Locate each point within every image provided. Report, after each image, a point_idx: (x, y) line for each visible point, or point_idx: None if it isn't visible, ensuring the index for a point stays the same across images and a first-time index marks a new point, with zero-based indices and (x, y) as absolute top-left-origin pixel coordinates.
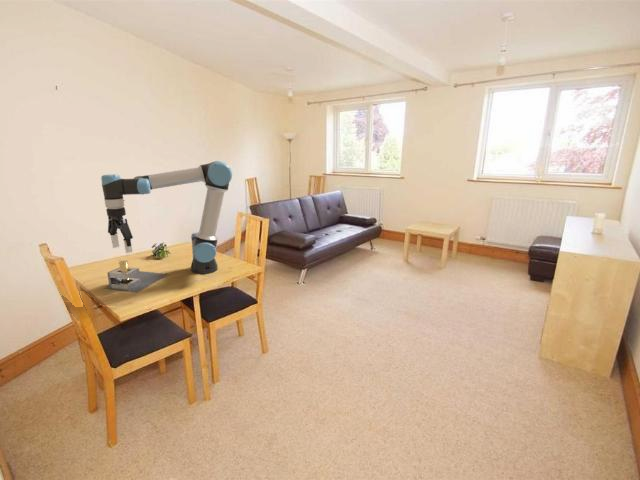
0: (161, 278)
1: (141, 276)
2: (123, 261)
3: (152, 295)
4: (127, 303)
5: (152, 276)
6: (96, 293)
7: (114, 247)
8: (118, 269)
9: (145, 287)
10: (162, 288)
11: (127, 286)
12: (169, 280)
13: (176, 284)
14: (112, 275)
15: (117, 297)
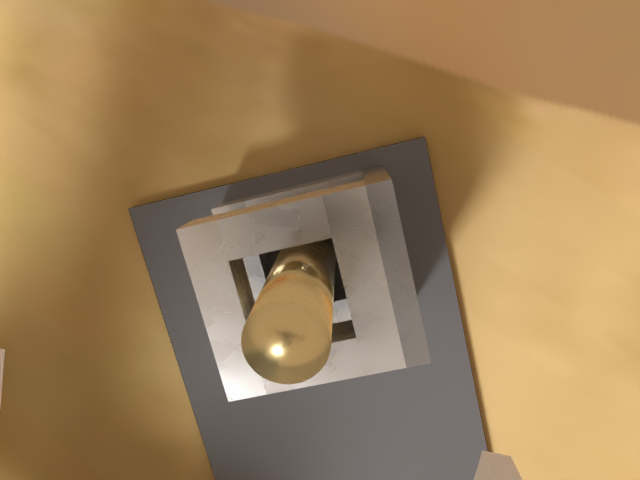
0: (210, 459)
1: (378, 427)
2: (293, 351)
3: (13, 232)
4: (33, 60)
5: (303, 460)
6: (402, 63)
7: (479, 470)
8: (373, 291)
9: (160, 296)
10: (62, 344)
11: (214, 209)
12: (146, 462)
13: (43, 431)
14: (332, 189)
15: (190, 93)
